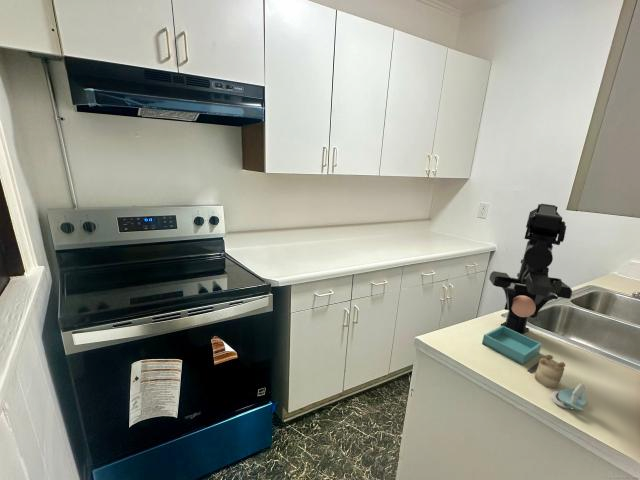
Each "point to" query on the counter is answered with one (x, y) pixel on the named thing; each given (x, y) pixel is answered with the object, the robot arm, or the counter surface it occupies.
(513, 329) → the robot arm
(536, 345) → the tray
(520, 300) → the ball
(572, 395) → the pacifier
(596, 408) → the counter surface
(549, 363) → the knobbed tan cylinder
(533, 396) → the counter surface
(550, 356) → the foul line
